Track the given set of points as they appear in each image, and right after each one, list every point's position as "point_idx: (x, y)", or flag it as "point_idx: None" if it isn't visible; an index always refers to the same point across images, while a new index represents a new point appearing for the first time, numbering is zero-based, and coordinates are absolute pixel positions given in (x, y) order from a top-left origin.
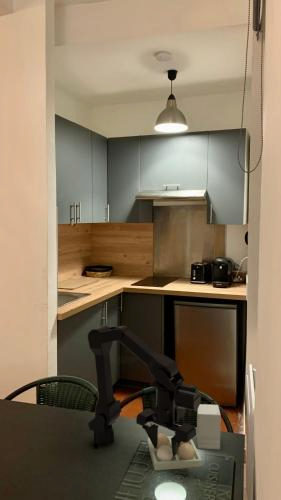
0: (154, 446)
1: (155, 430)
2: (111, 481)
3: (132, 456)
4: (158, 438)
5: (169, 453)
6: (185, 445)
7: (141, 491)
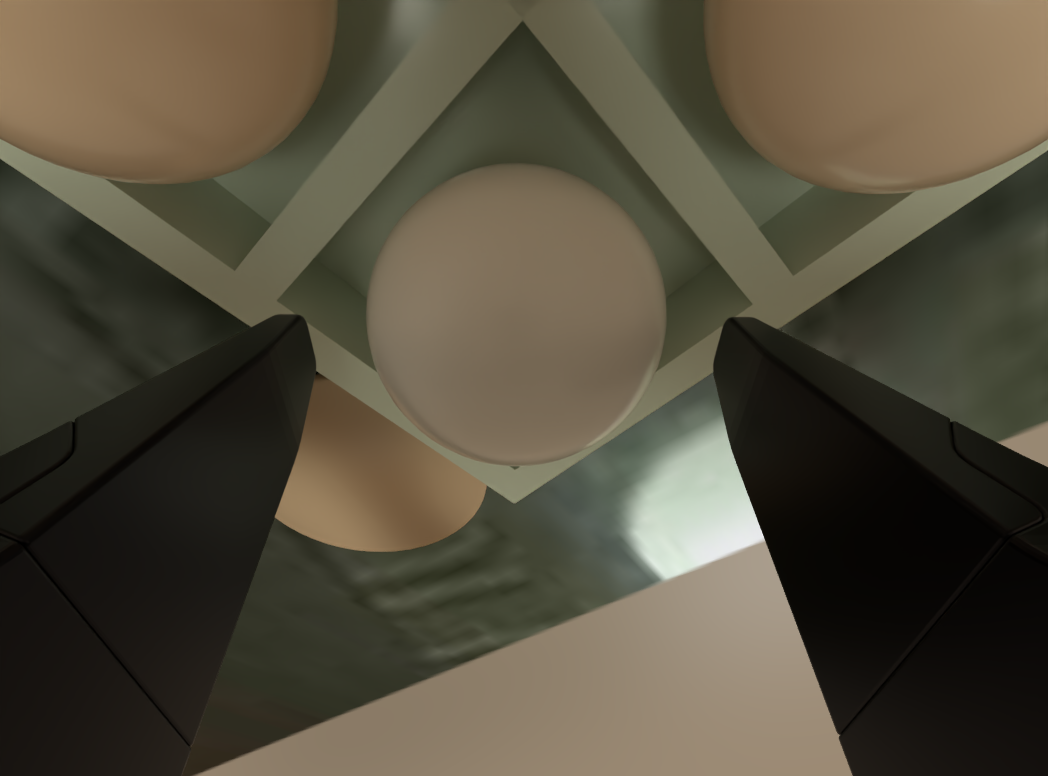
0: (304, 411)
1: (68, 665)
2: (313, 627)
3: (78, 334)
4: (91, 144)
5: (644, 388)
6: (1022, 60)
7: (557, 596)
